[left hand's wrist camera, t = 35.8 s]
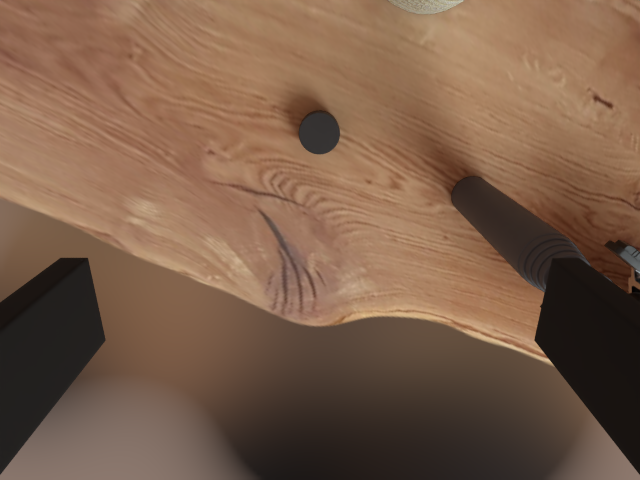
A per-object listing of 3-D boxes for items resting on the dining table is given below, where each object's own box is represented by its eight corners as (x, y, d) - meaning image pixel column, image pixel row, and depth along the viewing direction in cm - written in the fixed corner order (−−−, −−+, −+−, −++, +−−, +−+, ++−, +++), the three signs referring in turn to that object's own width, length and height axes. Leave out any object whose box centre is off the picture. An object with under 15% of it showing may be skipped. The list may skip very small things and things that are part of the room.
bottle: (491, 208, 50) (626, 320, 28) (453, 216, 50) (558, 333, 28) (487, 172, 48) (627, 260, 26) (449, 181, 48) (555, 275, 27)
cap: (320, 101, 45) (320, 103, 43) (346, 132, 46) (348, 135, 44) (291, 129, 46) (290, 132, 44) (318, 158, 47) (318, 162, 45)
